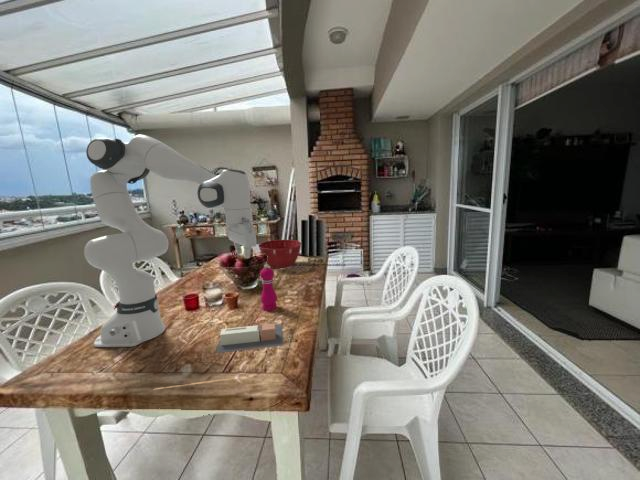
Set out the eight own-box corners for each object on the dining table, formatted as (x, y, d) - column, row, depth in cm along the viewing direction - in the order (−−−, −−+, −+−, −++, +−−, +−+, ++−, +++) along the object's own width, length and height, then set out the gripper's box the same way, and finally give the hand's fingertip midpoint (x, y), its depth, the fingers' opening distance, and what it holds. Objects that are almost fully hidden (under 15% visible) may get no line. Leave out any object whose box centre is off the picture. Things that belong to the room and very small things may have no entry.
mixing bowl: (311, 264, 193) (310, 242, 190) (277, 275, 173) (276, 250, 170) (284, 258, 213) (283, 238, 210) (251, 267, 192) (249, 244, 189)
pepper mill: (274, 311, 123) (271, 267, 119) (258, 311, 125) (255, 267, 121) (280, 304, 130) (277, 262, 126) (265, 304, 131) (261, 262, 128)
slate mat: (215, 354, 93) (215, 353, 93) (223, 331, 108) (223, 330, 108) (283, 346, 96) (283, 345, 96) (281, 325, 111) (281, 324, 111)
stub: (261, 340, 100) (260, 329, 99) (261, 334, 104) (260, 324, 103) (275, 339, 100) (274, 328, 100) (275, 333, 104) (274, 322, 103)
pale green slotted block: (221, 345, 98) (219, 334, 97) (223, 339, 102) (221, 328, 101) (259, 341, 100) (258, 330, 99) (260, 335, 103) (259, 324, 103)
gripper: (259, 218, 92) (262, 259, 94) (238, 214, 109) (242, 249, 111) (240, 220, 88) (244, 263, 91) (222, 215, 105) (225, 252, 108)
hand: (243, 255), depth 101 cm, fingers open, 7 cm apart
